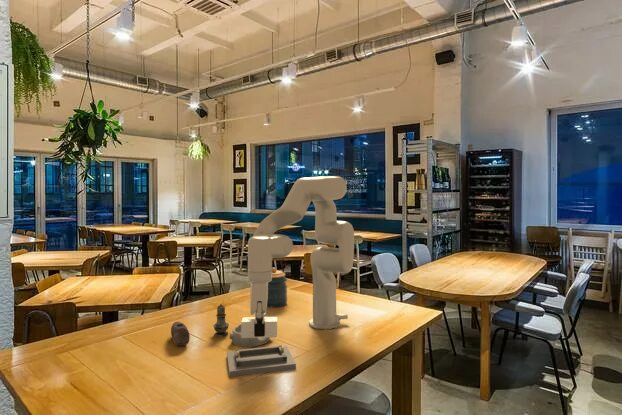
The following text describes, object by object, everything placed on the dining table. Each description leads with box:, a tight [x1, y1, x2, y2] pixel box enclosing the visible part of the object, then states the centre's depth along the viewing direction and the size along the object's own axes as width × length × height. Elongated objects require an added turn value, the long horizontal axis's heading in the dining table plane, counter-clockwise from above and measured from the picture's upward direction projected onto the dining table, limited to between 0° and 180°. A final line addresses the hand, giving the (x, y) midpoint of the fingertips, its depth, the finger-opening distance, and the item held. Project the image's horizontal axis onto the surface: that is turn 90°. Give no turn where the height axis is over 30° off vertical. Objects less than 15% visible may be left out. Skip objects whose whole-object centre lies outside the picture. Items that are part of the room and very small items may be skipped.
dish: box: [229, 323, 271, 348], centre depth 142 cm, size 14×14×5 cm
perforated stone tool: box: [170, 321, 190, 347], centre depth 142 cm, size 15×5×7 cm, turn 28°
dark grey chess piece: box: [212, 303, 230, 338], centre depth 148 cm, size 6×6×12 cm
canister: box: [267, 266, 288, 308], centre depth 188 cm, size 13×13×18 cm
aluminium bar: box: [240, 316, 278, 338], centre depth 124 cm, size 4×11×5 cm, turn 95°
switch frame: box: [226, 345, 297, 377], centre depth 124 cm, size 20×14×4 cm
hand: (259, 332), depth 124 cm, fingers closed on aluminium bar, 4 cm apart
